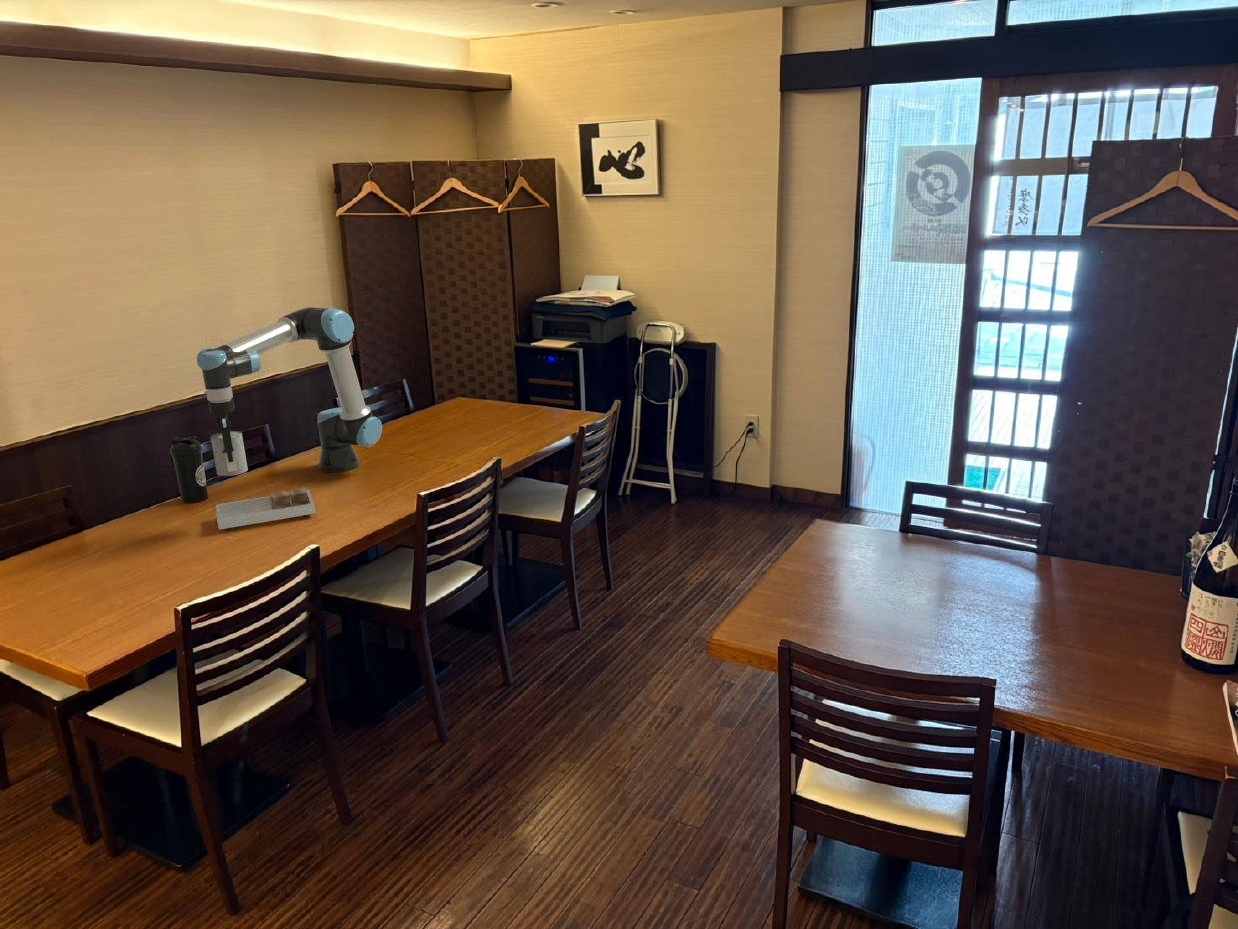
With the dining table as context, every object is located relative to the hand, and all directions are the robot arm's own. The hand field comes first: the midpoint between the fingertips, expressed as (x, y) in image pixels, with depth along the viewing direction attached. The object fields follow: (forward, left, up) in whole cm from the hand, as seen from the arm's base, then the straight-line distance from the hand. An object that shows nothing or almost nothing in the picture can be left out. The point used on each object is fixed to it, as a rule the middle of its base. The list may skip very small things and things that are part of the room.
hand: (231, 466), depth 294 cm
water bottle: (+14, -32, -20) cm, 40 cm away
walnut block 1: (-13, 0, -17) cm, 22 cm away
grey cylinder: (0, 0, -2) cm, 2 cm away
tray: (-8, 0, -20) cm, 21 cm away
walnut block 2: (-19, 0, -17) cm, 26 cm away
